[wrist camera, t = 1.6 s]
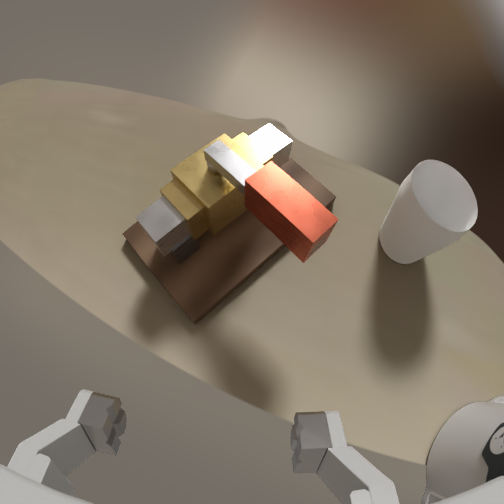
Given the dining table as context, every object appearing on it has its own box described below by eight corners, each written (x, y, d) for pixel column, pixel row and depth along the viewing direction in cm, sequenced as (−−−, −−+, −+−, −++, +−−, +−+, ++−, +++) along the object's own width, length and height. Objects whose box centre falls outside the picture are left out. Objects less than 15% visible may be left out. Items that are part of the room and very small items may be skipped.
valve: (291, 184, 40) (302, 139, 32) (178, 276, 35) (160, 246, 27) (259, 156, 41) (262, 110, 33) (148, 239, 36) (125, 203, 28)
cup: (359, 250, 38) (399, 201, 27) (383, 199, 41) (420, 145, 30) (417, 285, 37) (471, 250, 25) (435, 232, 40) (482, 188, 28)
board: (333, 202, 41) (336, 196, 39) (195, 324, 34) (193, 321, 33) (259, 140, 44) (259, 133, 43) (126, 238, 38) (122, 233, 37)
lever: (199, 168, 30) (193, 135, 25) (221, 152, 30) (219, 119, 26) (301, 265, 26) (313, 242, 22) (324, 244, 27) (338, 219, 23)
